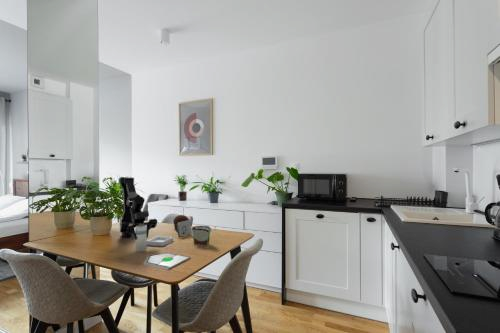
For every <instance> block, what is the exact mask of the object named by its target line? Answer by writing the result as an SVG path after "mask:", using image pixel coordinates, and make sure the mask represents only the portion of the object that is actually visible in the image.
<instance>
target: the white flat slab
mask: <svg viewBox="0 0 500 333" xmlns="http://www.w3.org/2000/svg"><path fill="white" fill-rule="evenodd" d="M190 259H191V256H186V255H180V254H175V253H169V252H165V253H159V254H153V255H149V256H147V257H146V259H145V261H143V264H142V265H144V266H149V267H154V268H157V269H161V268H163V269H162V270H166V271H167V270H171V269H172V268H174V267H176V266H178V265H180V264H183V263H184V262H186V261H187V260H190Z"/></svg>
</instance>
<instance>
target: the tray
mask: <svg viewBox="0 0 500 333" xmlns="http://www.w3.org/2000/svg"><path fill="white" fill-rule="evenodd" d="M172 242H174V237H173V236H164V235H162V236H161V235H156V236H155V237H152V238H150V239H147V246H156V247H164V246H166V245H168V244H170V243H172Z"/></svg>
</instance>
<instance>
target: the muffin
mask: <svg viewBox="0 0 500 333" xmlns="http://www.w3.org/2000/svg"><path fill="white" fill-rule="evenodd" d="M172 221H173V227H174V230H175V231H177V226H176V224H178V223H179V222H183V221H190V219H189V217H188V216H187V215H184V214H179V215H177V216H175V217H174V218H173V220H172ZM178 230H179V228H178Z"/></svg>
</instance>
